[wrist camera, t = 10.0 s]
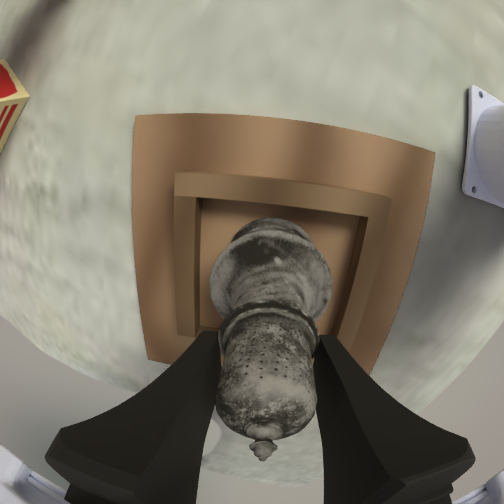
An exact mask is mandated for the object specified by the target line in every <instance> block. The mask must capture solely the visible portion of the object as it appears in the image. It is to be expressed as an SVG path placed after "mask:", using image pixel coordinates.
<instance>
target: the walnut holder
mask: <svg viewBox="0 0 504 504" xmlns="http://www.w3.org/2000/svg"><path fill="white" fill-rule="evenodd" d="M434 160H435V152H432V151H429V150H426V149H423V148H420V147H417V146H413V145H410V144H407V143H403V142H400V141H396V140H392V139H389V138H385V137H381V136H377V135H373V134H368V133H364V132H360V131H355V130H350V129H345V128H340V127H335V126H329V125H324V124H318V123H311V122H305V121H297V120H290V119H281V118H272V117H262V116H249V115H233V114H202V113H184V114H153V115H138V116H135V126H134V141H133V163H132V219H133V241H134V256H135V269H136V279H137V289H138V297H139V305H140V313H141V320H142V326H143V333H144V339H145V345H146V350H147V356H148V359H149V360H154V361H158V362H163V363H167V364H173V363H174V362H175V361H176V360H177V359H178V358H179V357H180V356H181V355H182V354H183V353H184V351H185V350H186V349H187V348H188V347H189V346H190V345H191V344H192V342H193V341H194V340H195V339H196V338H197V337H198V335H199V334H200V333H201V332H202V331H203V330H204V331H217V332H219V329H220V325H221V324H222V322H223V320H224V319H223V318H222V317H221V315H220V314H219V313H218V312H217V310H216V308H215V306H214V304H213V301H212V299H211V295H210V287H209V281H210V275H211V270H212V267H213V265H214V263H215V261H216V259H217V258H218V256H219V254H220V253H221V252H222V251H223V250H224V249H225V248H226V247H227V246H228V245H229V244H230V243H231V241H232V239H233V237H234V235H235V234H236V233H237V232H238V231H239V230H240V229H241V228H242V227H243V226H245V225H247V224H248V223H250V222H252V221H254V220H258V219H261V218H265V217H278V218H282V219H286V220H289V221H291V222H293V223H295V224H297V225H298V226H300V227H301V228H302V229H303V230H304V231H305V232H306V233H307V234H308V235H309V237H310V239H311V240H312V242H313V244H314V246H315V247H316V248H317V249H318V250H319V251H320V252H321V253H322V255H323V256H324V258H325V260H326V262H327V264H328V266H329V268H330V271H331V277H332V282H333V285H332V294H331V299H330V301H329V303H328V306H327V308H326V310H325V312H324V313H323V314H322V315H321V317H320V318H319V319H318V320H317V321H316V322H315V324H316V325H317V328H318V332H319V335H335V336H336V337H337V338H338V340H339V341H340V342H341V343H342V345H343V346H344V347H345V348H346V350H347V351H348V352H349V353H350V355H351V356H352V357H353V358H354V359H355V361H356V362H357V363H358V364H359V365H360V366H361V367H362V369H363V370H364V371H365V372H366V373H367V374H368V375H370V373H371V371H372V369H373V367H374V364H375V362H376V360H377V358H378V356H379V354H380V351H381V349H382V347H383V345H384V342H385V340H386V338H387V335H388V333H389V330H390V328H391V325H392V323H393V320H394V318H395V315H396V313H397V310H398V307H399V304H400V302H401V299H402V296H403V293H404V290H405V287H406V284H407V281H408V278H409V275H410V271H411V268H412V265H413V261H414V258H415V254H416V251H417V247H418V243H419V239H420V235H421V231H422V227H423V223H424V218H425V213H426V209H427V204H428V198H429V193H430V187H431V181H432V174H433V167H434ZM220 353H221V366H222V365H223V360H224V355H223V353H222V351H221V349H220ZM313 362H314V358H313V359H312V364H313Z"/></svg>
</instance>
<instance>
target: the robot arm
mask: <svg viewBox="0 0 504 504" xmlns="http://www.w3.org/2000/svg"><path fill="white" fill-rule="evenodd" d="M478 93H479V94H480V96H479V94H478ZM472 187H473V192H472ZM462 191H463V193H464V194H466V195H469V196H472V197H475V198H478V199H480V200H483V201H486V202H489V203H491V204H494V205H497V206H499V207H502V208H504V104H503V103H502V102H500V101H499V100H497V99H496V98H494V97H493V96H491V95H490V94H488V93H487V92H485V91H483V90H482V89H480V88H478V87H477V86H474V85H473V86H470V87H469V121H468V139H467V151H466V161H465V169H464V176H463V183H462ZM218 334H219V332H217V331H204V330H203V331H202V332H201V333H200V334H199V335H198V337H197V338H196V339H195V340H194V341H193V342H192V344H191V345H190V346H189V347H188V348H187V349H186V350H185V351H184V353H183V354H182V355H181V356H180V357H179V358H178V359H177V360H176V361H175V362H174V363H173V364H172V365H171V366H170V367H169V368H168V369H167V370H165V371H164V372H163V373H162V374H161V375H160V376H159V377H158V378H157V379H155V380H154V381H153V382H152V383H151V384H149V385H148V386H147V387H145V388H144V389H143V390H141V391H140V392H139V393H137V394H136V395H135V396H133V397H131V398H129V399H128V400H126V401H125V402H123V403H121V404H120V405H118V406H116V407H114V408H112V409H111V410H108V411H106V412H104V413H102V414H100V415H98V416H95V417H93V418H91V419H88V420H86V421H83V422H80V423H77V424H74V425H70V426H68V427H64V428H61V429H60V431H59V432H58V434H57V435H56V437H55V439H54V440H53V442H52V444H51V446H50V448H49V450H48V451H47V453H46V455H45V459H46V462H47V463H48V464H49V465H50V466H51V467H52V468H53V469H54V470H55V471H56V472H58V473H59V474H60V475H61V476H62V477H64V478H65V479H66V480H67V481H68V482H69V483H71V484H70V486H69V488H68V490H67V491H66V490H64V489H62V488H61V487H59V486H57V485H55V484H54V483H52V482H50V481H49V480H47V479H45V478H44V477H42V476H41V475H39V474H38V473H36V472H34V471H33V470H31V468H30V467H29V466H28V465H27V464H26V463H24V462H23V461H22V460H21V459H20V458H19V457H17V456H16V455H15V454H13V453H12V452H11V451H9V450H8V449H7V448H6V447H4V446H3V445H2V444H0V504H196V497H197V489H198V481H199V473H200V466H201V460H202V453H203V447H204V442H205V438H206V434H207V430H208V427H209V423H210V420H211V416H212V413H213V409H214V406H215V395H216V391H217V386H218V382H219V378H220V373H221V369H222V366H221V353H220V347H219V341H218ZM319 336H320V342H319V349H318V351H317V353H316V355H315V357H314V362H313V371H314V379H315V387H316V395H317V404H316V413H317V418H318V423H319V428H320V434H321V439H322V447H323V464H324V504H504V469H503V470H502V471H500V472H499V473H497V474H496V475H495V476H493V477H492V478H491V479H490V480H488V481H487V482H486V483H485V484H484V485H482V486H480V487H479V488H477V489H475V490H474V491H471V492H470V493H468V494H466V495H464V496H462V497H460V498H458V499H456V500H454V501H452V502H451V498H450V495H449V494H450V493H452V492H453V487H452V484H451V483H453V482H454V481H455V480H457V479H458V478H459V477H460V476H461V475H463V474H464V473H465V472H466V471H467V470H468V469H469V468H471V467H472V465H473V464H474V462H475V456H474V453H473V451H472V449H471V447H470V444H469V442H468V440H467V439H466V438H464V437H461V436H459V435H456V434H454V433H451V432H449V431H446V430H444V429H442V428H440V427H437V426H436V425H434V424H432V423H430V422H428V421H426V420H425V419H423V418H421V417H419V416H418V415H416V414H415V413H413V412H412V411H410V410H409V409H407V408H406V407H404V406H403V405H402V404H400V403H399V402H398V401H396V400H395V399H394V398H393V397H392V396H390V395H389V394H388V393H387V392H385V391H384V390H383V389H382V388H381V387H380V386H379V385H378V384H377V383H376V382H375V381H374V380H373V379H372V378H371V377H370V376H369V375H368V374H367V373H366V372H365V371H364V370H363V369H362V367H361V366H360V365H359V364H358V363H357V362H356V361H355V359H354V358H353V357H352V356H351V355H350V353H349V352H348V351H347V350H346V348H345V347H344V346H343V345H342V343H341V342H340V341H339V340H338V338H337V337H336V336H335V335H319Z"/></svg>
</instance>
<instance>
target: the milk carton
mask: <svg viewBox="0 0 504 504" xmlns="http://www.w3.org/2000/svg"><path fill="white" fill-rule="evenodd" d="M29 97H30V96H29V95H28V93H27V92H26V90H25V89H24V87H23V86H22V84H21V83H20V81H19V79H18V78H17V76H16V75H15V73H14V72H13V70H12V69H11V67H10V66H9V64H8V63H7V61H6V60H1V59H0V154H1V152H2V149H3V147H4V145H5V143H6V141H7V139H8V137H9V135H10V132H11V130H12V128H13V126H14V124H15V122H16V120H17V119H18V117H19V115H20V113H21V111H22V109H23V107H24V106H25V104H26V102H27V100H28V99H29Z"/></svg>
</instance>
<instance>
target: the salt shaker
mask: <svg viewBox="0 0 504 504" xmlns="http://www.w3.org/2000/svg"><path fill="white" fill-rule="evenodd" d="M332 285H333V282H332V277H331V271H330V268H329V266H328V264H327V262H326V260H325V258H324V256H323V255H322V253H321V252H320V251H319V250H318V249H317V248H316V247H315V246H314V244H313V242H312V240H311V239H310V237H309V235H308V234H307V233H306V232H305V231H304V230H303V229H302V228H301V227H300V226H298V225H297V224H295V223H293V222H291V221H289V220H286V219H282V218H278V217H265V218H261V219H258V220H254V221H252V222H250V223H248V224H247V225H245V226H243V227H242V228H241V229H240V230H239V231H238V232H237V233H236V234H235V235H234V237H233V239H232V241H231V243H230V244H229V245H228V246H227V247H226V248H225V249H224V250H223V251H222V252H221V253H220V254H219V256H218V258H217V259H216V261H215V263H214V265H213V267H212V270H211V275H210V281H209V287H210V295H211V299H212V301H213V304H214V306H215V308H216V310H217V312H218V313H219V314H220V315H221V317H222V318H223V319H224V320H223V322H222V324H221V325H220V329H219V334H218V341H219V347H220V349H221V351H222V353H223V355H224V360H223V365H222V369H221V373H220V378H219V382H218V386H217V391H216V395H215V406H216V410H217V413H218V415H219V416H220V418H221V419H222V420H223V422H224V423H225V424H226V426H228V427H229V428H230V429H232V430H233V431H235V432H237V433H239V434H241V435H243V436H245V437H249V438H252V439H254V440H255V442H253V443H252V444H250V445H249V447H250V449H251V450H252V451H254V454H255V456H257V457H259V460H260V461H265V460H266V459H267V458H268V457H270V456H271V455H272V452H274V451H276V450H277V445H276V444H274V443H273V442H272V441H273V440H278V439H282V438H286V437H289V436H291V435H293V434H296V433H298V432H299V431H301V430H302V429H303V428H305V427H306V425H307V424H308V423H309V422H310V421H311V419H312V418H313V416H314V414H315V409H316V404H317V395H316V387H315V379H314V371H313V364H312V359H313V358H314V357H315V355H316V353H317V351H318V349H319V342H320V336H319V332H318V328H317V325H316V324H315V322H316V321H317V320H318V319H319V318H320V317H321V315H322V314H323V313H324V312H325V310H326V308H327V306H328V303H329V301H330V299H331V294H332Z"/></svg>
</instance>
